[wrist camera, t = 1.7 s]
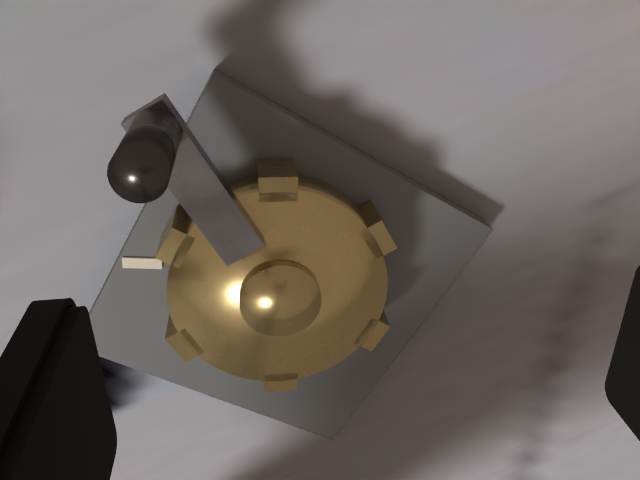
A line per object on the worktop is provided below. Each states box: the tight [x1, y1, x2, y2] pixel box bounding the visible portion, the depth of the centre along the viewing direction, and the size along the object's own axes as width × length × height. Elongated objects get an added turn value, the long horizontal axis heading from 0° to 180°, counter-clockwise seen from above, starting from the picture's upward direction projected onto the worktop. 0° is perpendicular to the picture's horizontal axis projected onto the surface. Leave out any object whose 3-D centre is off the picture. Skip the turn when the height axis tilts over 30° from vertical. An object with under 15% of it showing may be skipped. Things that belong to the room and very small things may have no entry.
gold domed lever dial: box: [107, 93, 397, 392], centre depth 27 cm, size 17×12×9 cm
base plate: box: [89, 69, 493, 440], centre depth 33 cm, size 17×17×1 cm
